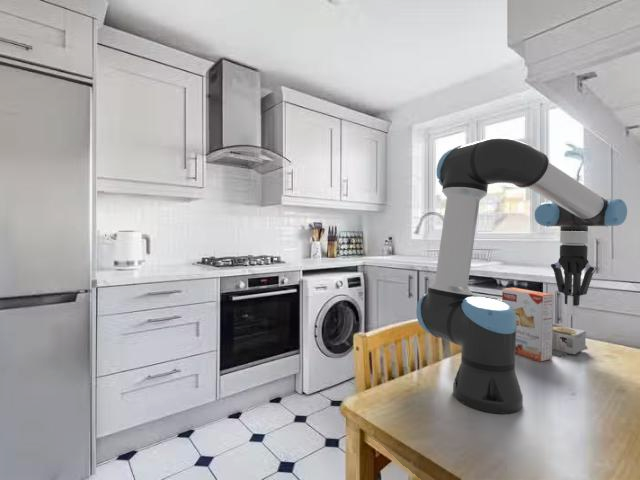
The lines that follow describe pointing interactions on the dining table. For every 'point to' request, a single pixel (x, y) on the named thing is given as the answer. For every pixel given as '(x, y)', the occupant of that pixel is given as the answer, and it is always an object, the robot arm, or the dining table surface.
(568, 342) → the coffee box
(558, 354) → the mat
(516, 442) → the dining table surface
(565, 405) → the dining table surface
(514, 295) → the cracker box
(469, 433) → the dining table surface
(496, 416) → the dining table surface
